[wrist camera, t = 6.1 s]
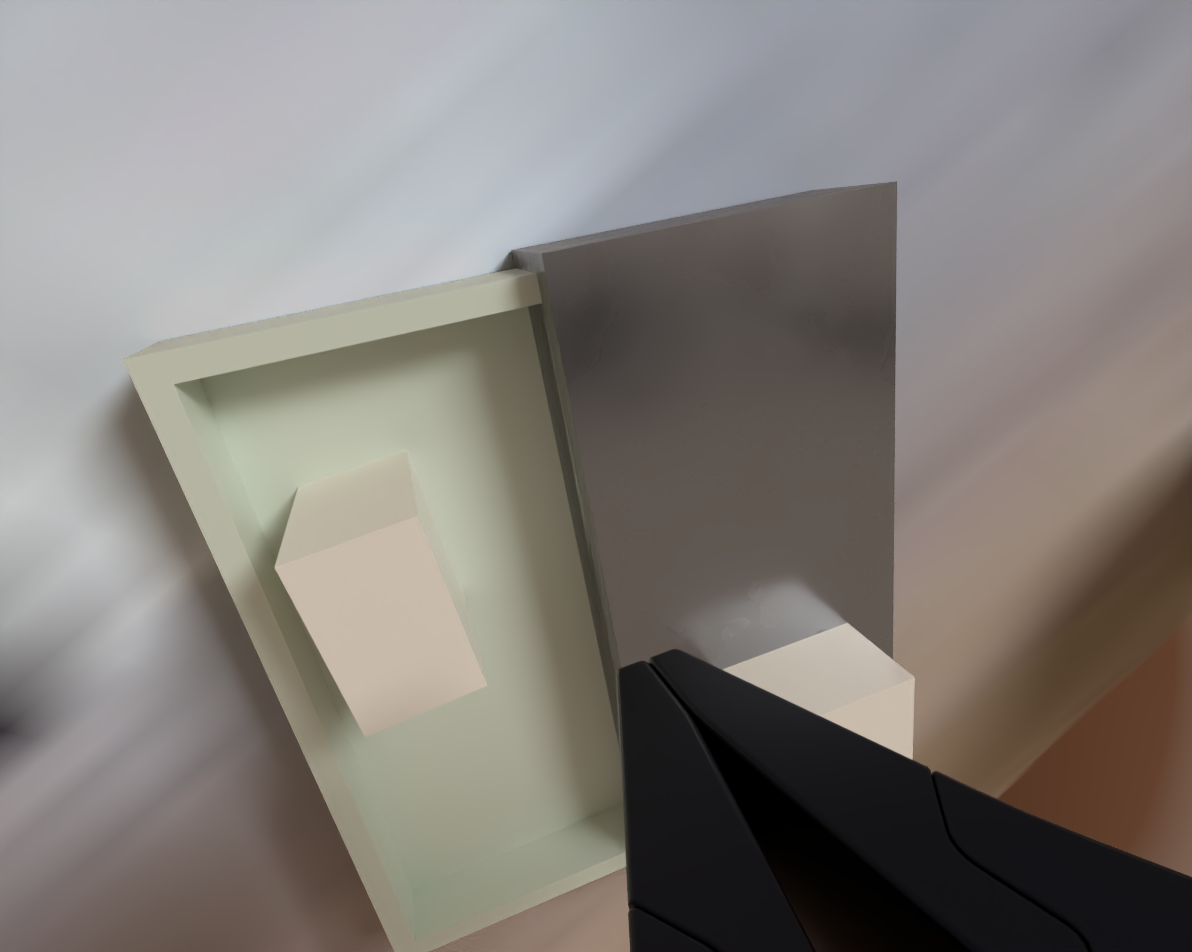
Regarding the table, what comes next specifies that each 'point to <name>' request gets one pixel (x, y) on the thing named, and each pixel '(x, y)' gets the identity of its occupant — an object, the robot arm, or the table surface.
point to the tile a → (379, 593)
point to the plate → (728, 422)
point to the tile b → (841, 684)
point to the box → (481, 561)
